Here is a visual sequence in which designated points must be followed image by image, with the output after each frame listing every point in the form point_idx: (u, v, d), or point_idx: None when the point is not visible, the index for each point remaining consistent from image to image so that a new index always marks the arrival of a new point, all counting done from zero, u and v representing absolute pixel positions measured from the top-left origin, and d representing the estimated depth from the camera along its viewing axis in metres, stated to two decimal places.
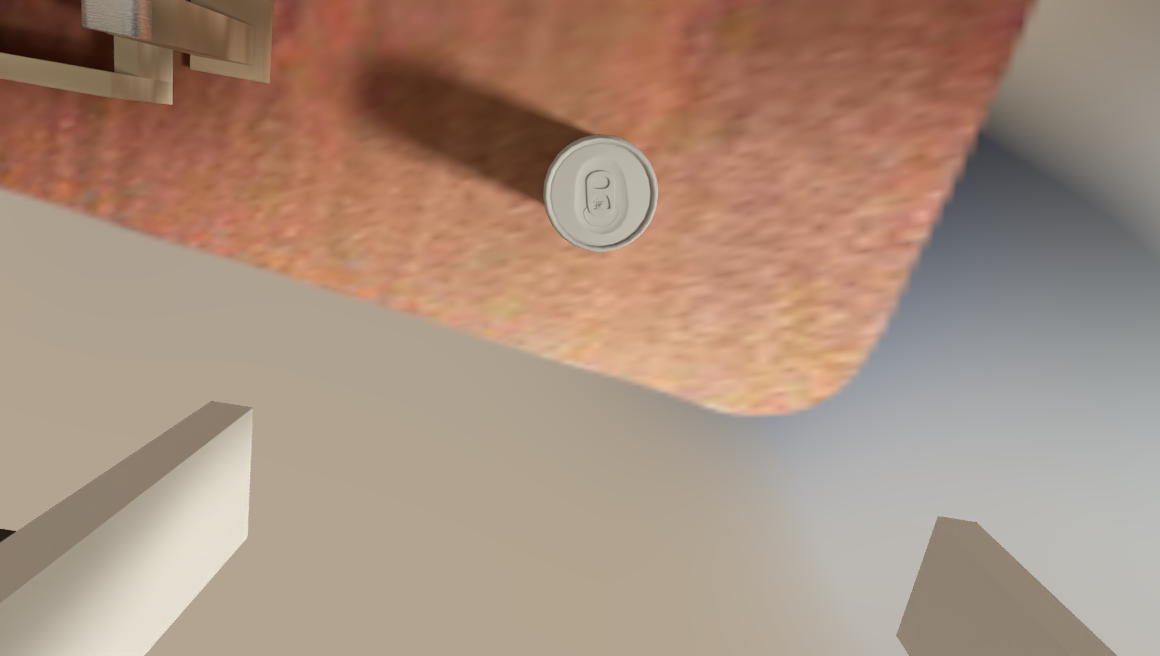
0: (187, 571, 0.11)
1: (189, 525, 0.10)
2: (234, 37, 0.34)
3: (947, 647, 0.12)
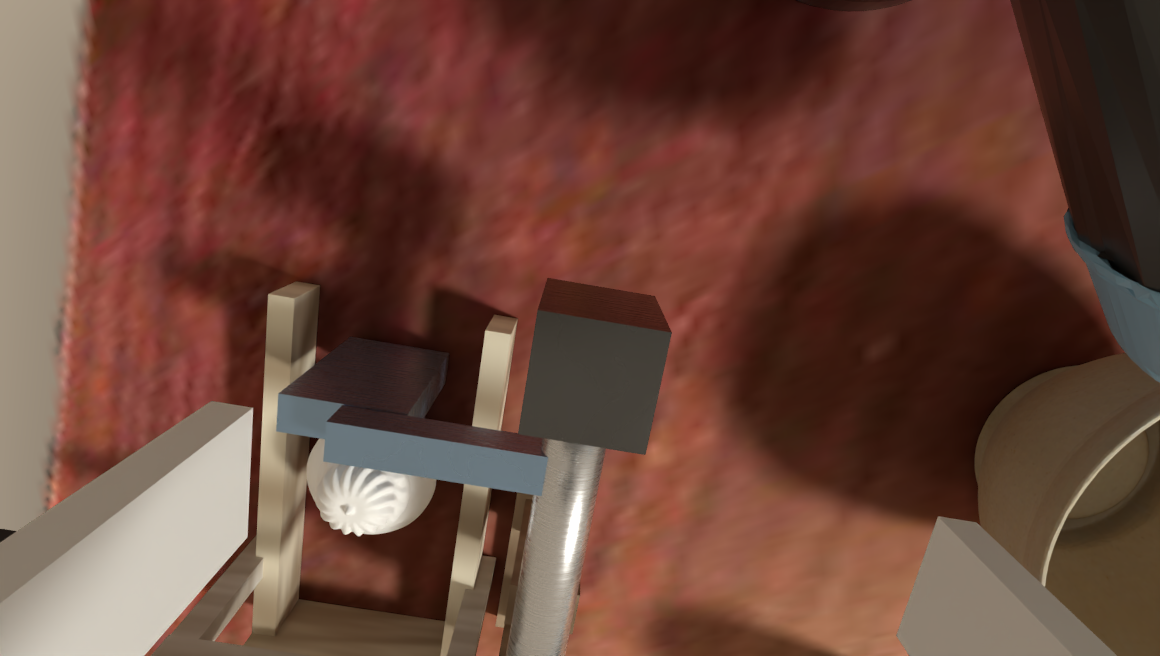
0: (187, 571, 0.11)
1: (189, 524, 0.10)
2: None
3: (947, 647, 0.12)
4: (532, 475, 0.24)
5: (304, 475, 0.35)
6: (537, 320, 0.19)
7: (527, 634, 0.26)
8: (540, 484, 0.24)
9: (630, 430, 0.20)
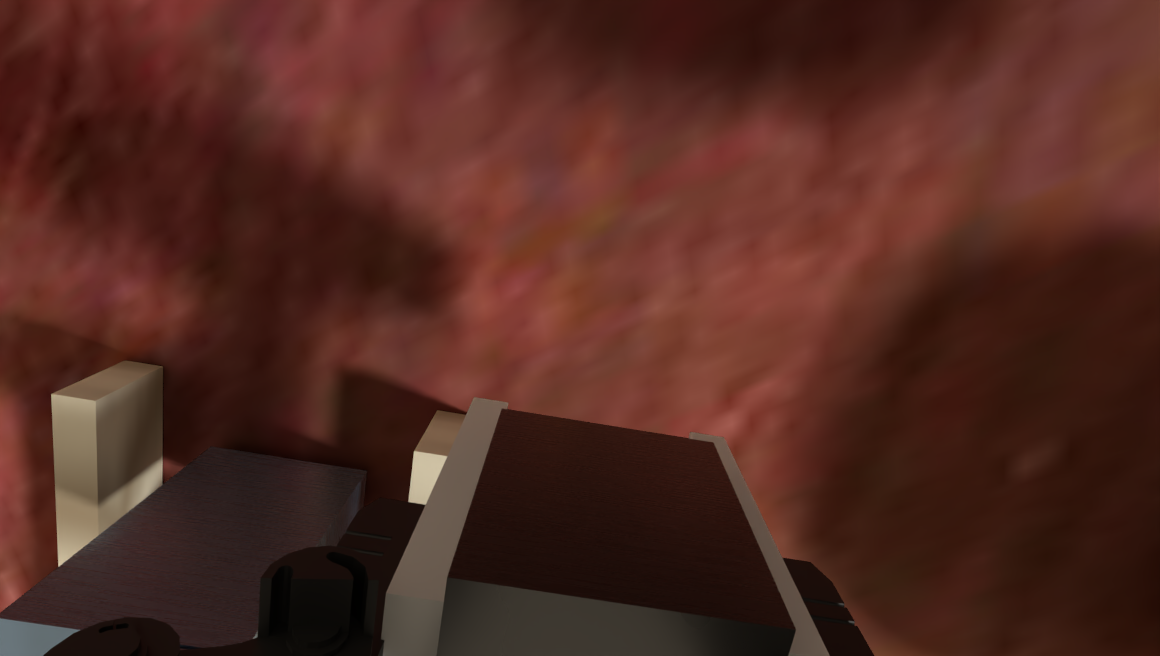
0: None
1: None
2: None
3: None
4: None
5: None
6: (447, 600, 0.07)
7: None
8: None
9: None
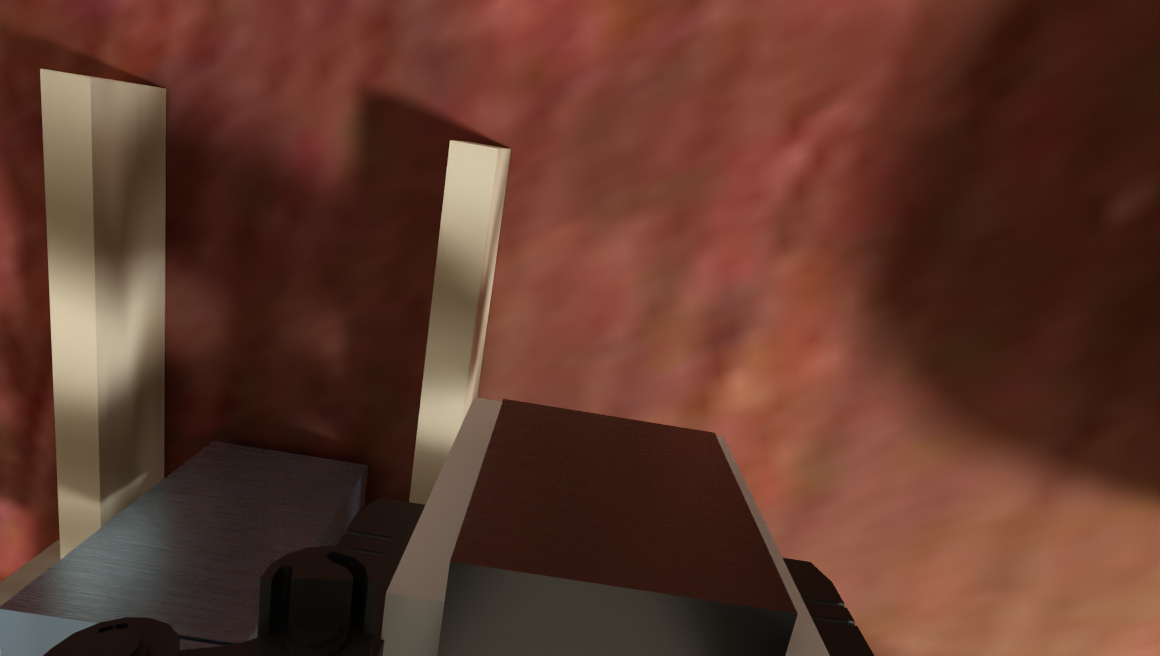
0: None
1: None
2: None
3: None
4: None
5: (157, 427, 0.21)
6: (450, 584, 0.07)
7: None
8: None
9: None
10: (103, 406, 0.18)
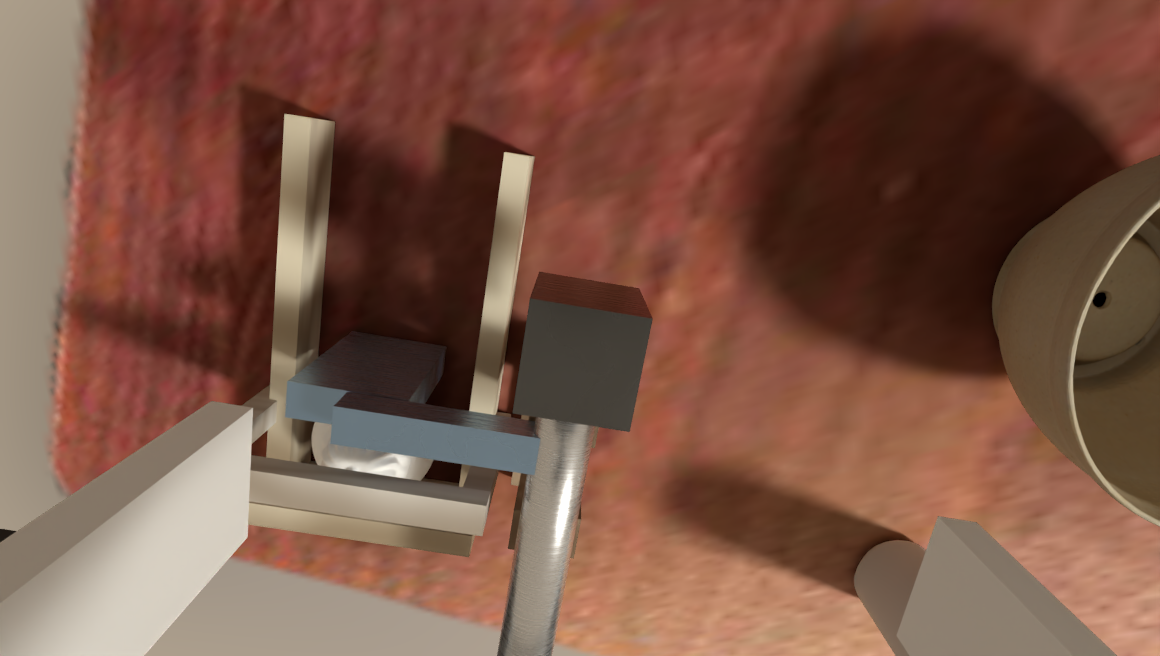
0: (187, 571, 0.11)
1: (189, 524, 0.10)
2: None
3: (948, 647, 0.12)
4: (525, 455, 0.26)
5: (317, 325, 0.35)
6: (529, 308, 0.21)
7: (521, 606, 0.27)
8: (533, 464, 0.26)
9: (615, 409, 0.22)
10: (301, 304, 0.32)
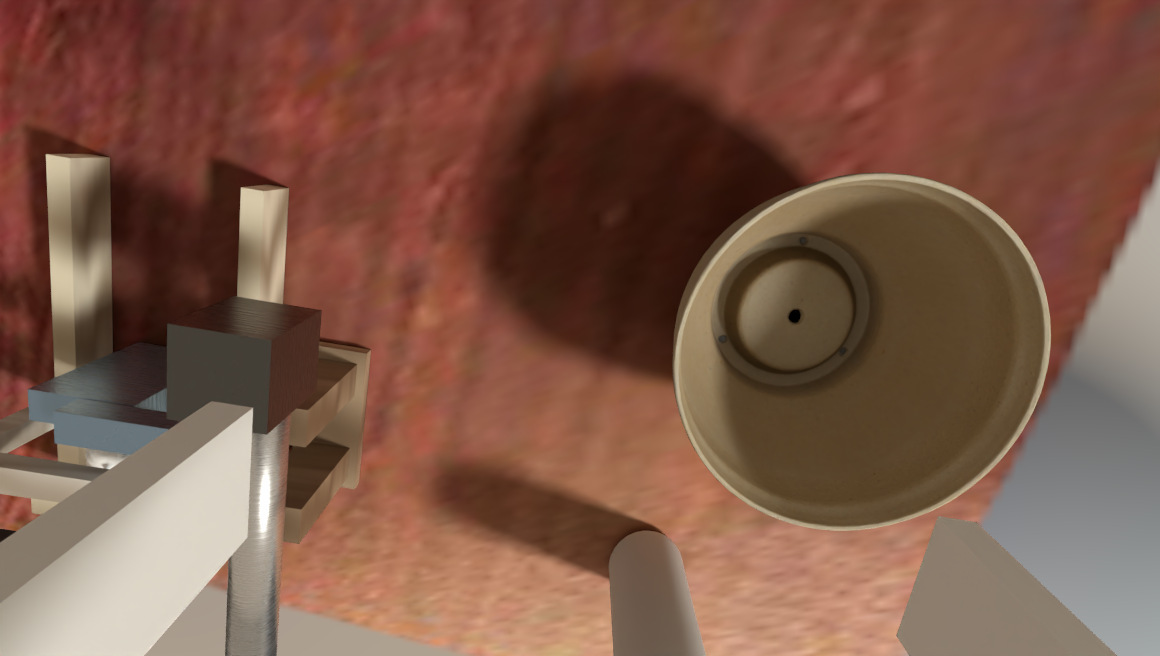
0: (187, 571, 0.11)
1: (189, 525, 0.10)
2: (335, 477, 0.39)
3: (948, 647, 0.12)
4: None
5: (108, 336, 0.39)
6: (168, 331, 0.25)
7: (233, 584, 0.32)
8: None
9: None
10: (77, 319, 0.36)
